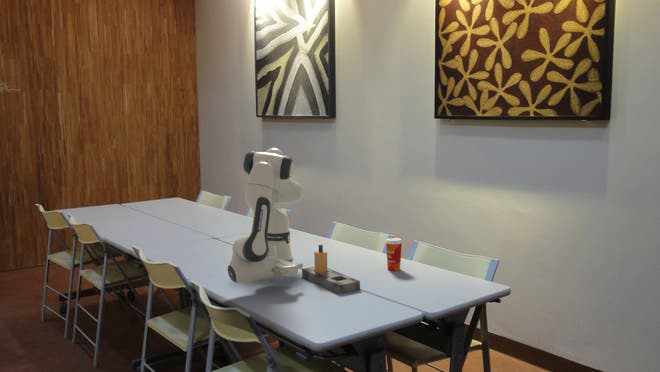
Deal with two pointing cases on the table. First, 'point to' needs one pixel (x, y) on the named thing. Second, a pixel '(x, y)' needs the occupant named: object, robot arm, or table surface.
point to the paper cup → (393, 253)
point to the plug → (320, 260)
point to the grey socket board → (332, 280)
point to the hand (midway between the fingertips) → (296, 262)
